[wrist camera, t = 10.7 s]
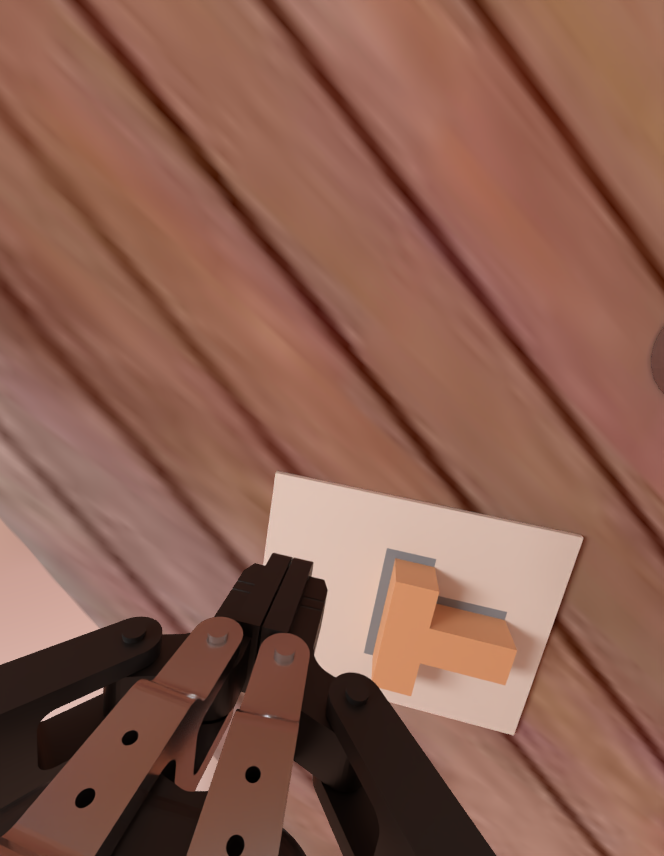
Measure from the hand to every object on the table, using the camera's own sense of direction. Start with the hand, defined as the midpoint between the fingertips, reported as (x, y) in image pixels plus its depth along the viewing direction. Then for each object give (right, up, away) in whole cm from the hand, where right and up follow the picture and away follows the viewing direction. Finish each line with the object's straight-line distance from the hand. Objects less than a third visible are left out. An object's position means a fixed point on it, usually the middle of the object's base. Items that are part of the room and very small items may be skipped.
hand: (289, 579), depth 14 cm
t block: (+13, -15, +27) cm, 33 cm away
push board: (+9, -13, +28) cm, 32 cm away
